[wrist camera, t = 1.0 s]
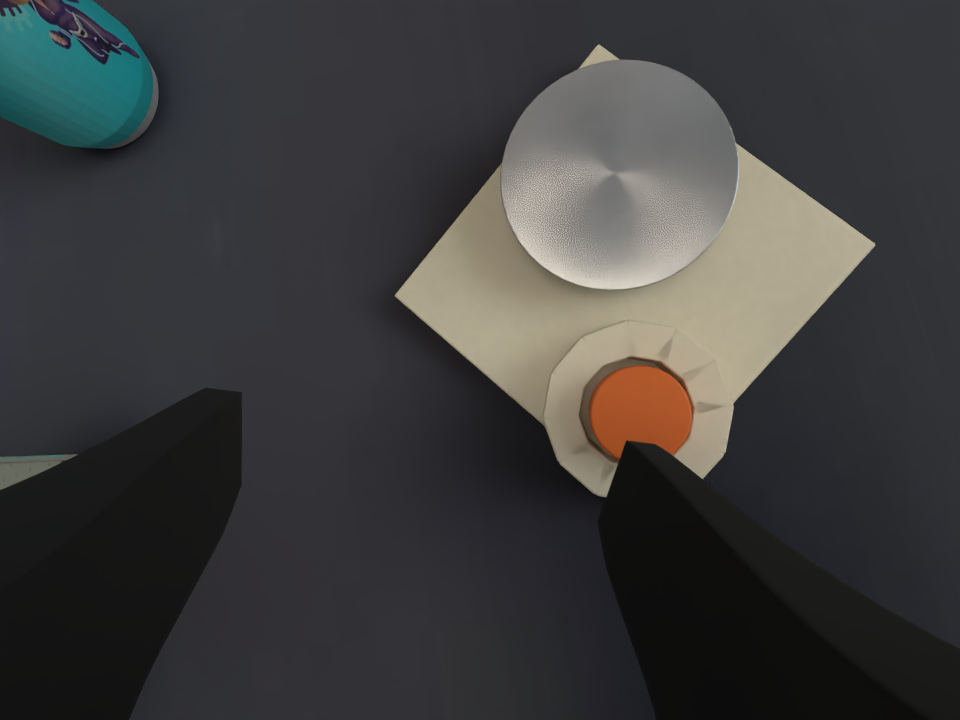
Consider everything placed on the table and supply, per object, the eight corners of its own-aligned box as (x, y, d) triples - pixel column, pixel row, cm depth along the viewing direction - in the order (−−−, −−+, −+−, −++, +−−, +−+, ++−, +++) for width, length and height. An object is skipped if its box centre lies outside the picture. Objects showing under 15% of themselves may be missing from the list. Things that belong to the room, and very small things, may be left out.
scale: (870, 259, 20) (921, 239, 17) (637, 517, 21) (647, 541, 18) (597, 61, 22) (600, 11, 19) (396, 308, 23) (369, 298, 20)
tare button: (701, 406, 18) (714, 410, 17) (640, 475, 19) (646, 485, 17) (628, 348, 19) (634, 345, 17) (570, 415, 19) (569, 419, 17)
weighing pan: (789, 153, 18) (792, 150, 17) (629, 338, 18) (630, 338, 18) (601, 20, 19) (601, 14, 18) (456, 198, 19) (455, 195, 19)
